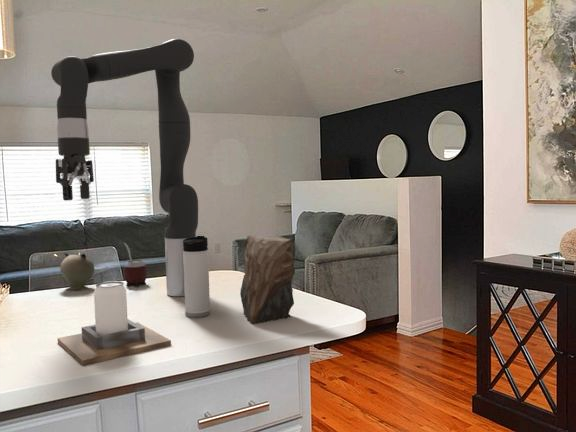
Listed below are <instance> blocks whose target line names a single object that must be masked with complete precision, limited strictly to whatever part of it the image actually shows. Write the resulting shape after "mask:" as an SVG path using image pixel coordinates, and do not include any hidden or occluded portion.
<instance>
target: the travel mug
mask: <svg viewBox="0 0 576 432" xmlns="http://www.w3.org/2000/svg"><path fill="white" fill-rule="evenodd" d="M208 243H209V242H208V238H207V237H205V235H196V237H192V238H187V239H184V240H183V247H184V248H183V262H184V289H185V296H184V311H185V312H184V313H185V316H186V317H187V318H194V319H195V318H196V319H197V318H199V319H200V318H204V317H207V316H209V315H210V314H211V303H210V301H211V300H210V299H211V298H210V276H209V275H210V272H209V265H210V264H209V248H208Z"/></svg>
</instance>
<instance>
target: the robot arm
mask: <svg viewBox="0 0 576 432" xmlns="http://www.w3.org/2000/svg"><path fill="white" fill-rule="evenodd" d="M194 59H195V52H194V49H193V48H192V46H191V44H190V43H189V42H188V41H186V40H185V39H181V38H172V39H169V40H167V41H164V42H162V43H160V44H157V45H153V46H149V47H145V48H144V47H143V48H137V49H130V50H119V51H117V50H116V51H111V52H102V53H97V54H93V55H91V56H88V57H82V58H80V57H78V56H74V55H70V56H66V57H63V58H62V59H61V60H59V61H56V63H54V64H53V66H52V68H51V73H50V74H51V78H52V80H53V81H54V83H55V84H57V85H58V86H60V94H59V96H58V98H57V100H56V115H57V125H56V130H57V131H56V132H57V133H56V134H57V149H58V151H57V152H58V155H59V156H62V157H63V158H57V159H55V182H56V184H60V186H62V187H61V189H62V199H63V201H72V200H73V199H74V198H73V197H74V194H73V185H72V184H73V183H74V180H75V179H77V180H78V182H79V184H80V185H79V192H80V199H81V200H89V199H90V194H91V193H90V185H91V183H94V181H95V180H94V169H93V168H94V165H93V160H92V159H91V160H90V159H86V156H90V135H89V134H90V132H89V125H88V115H87V114H88V113H87V103H86V102H87V98H88V97H87V96H88V90H89V89H88V88H89V84H92V83H96V82H106V81H114V80H117V79H123V78H127V77H132V76H135V75H136V76H137V75H138V74H142V73H147V72H152V71H154V72H155V80H156V87H157V107H158V109H157V110H158V138H159V157H160V158H159V160H160V161H159V162H160V174H159V175H160V178H159V189H158V190H159V191H158V192H159V194H158V200H159V204H160V207H161V209H162V210H163V211H164V212H165V213H167V214H169V222H168V226H166V227H165V229H164V248H165V249H164V251H165V255H164V256H165V276H166V283H165V284H166V295H167V296H170V297H171V296H172V297H185V289H184V262H183V248H184V247H183V240H184V239H187V238H192V237H197V233H196V232H197V229H198V226H199V199H198V198H199V197H198V195H197V192H196V190H195V188H193V186H191V185H189V184H187V183H186V184H185V180H184V179H185V178H184V166H185V162H186V161H185V160H186V158H187V154H188V152H189V148H190V144H191V118H190V117H191V116H190V114H189V111H188V108H187V107H186V104H185V101H184V99H183V97H182V94H181V86H180V85H181V84H180V75H181V73H182V72H184V71H186V70H188V69H189V68H190V67H191V66H192V64H193V63H194Z"/></svg>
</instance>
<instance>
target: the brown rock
mask: <svg viewBox="0 0 576 432" xmlns="http://www.w3.org/2000/svg"><path fill="white" fill-rule="evenodd" d="M246 240H247V243H246V248H245V252H244V255H243V260H242V261H243V270H244V271H243V272H244V274H243V278H242V283H241V287H240V294H239V295H240V300H241V305H242V309H243V315H244V317H245V318H246V321H247V322H249V324H250V325H255V324H261V323H267V321H268V322H272V321H271V320H273V321H277V320H284V319H283V318H285V319H288V317H289V318H291V317H290V311H291V309H292V307H293V306H294V304H295V301H294V294H293V291H294V290H293V286H292V283H293V279H294V275H295V274H296V270H295V266H294V264H295V261H294V259H295V258H294V254H293V242H294V239H293V238H292V237H290V238H287V237H284V236H282V235H281V236H280V235H277V236H276V235H275V236H271V237H270V236H258V235H250V234H249V235H247V237H246Z"/></svg>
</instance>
